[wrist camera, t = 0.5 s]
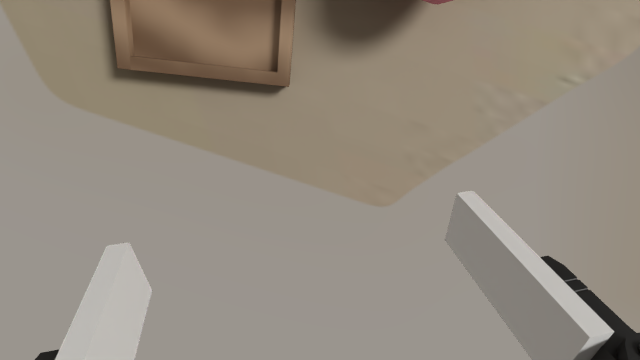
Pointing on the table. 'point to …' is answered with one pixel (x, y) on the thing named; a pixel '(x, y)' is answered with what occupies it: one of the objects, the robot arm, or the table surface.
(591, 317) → the robot arm
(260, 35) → the walnut tray
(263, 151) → the table surface
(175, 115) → the table surface
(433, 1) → the apple
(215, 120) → the table surface
